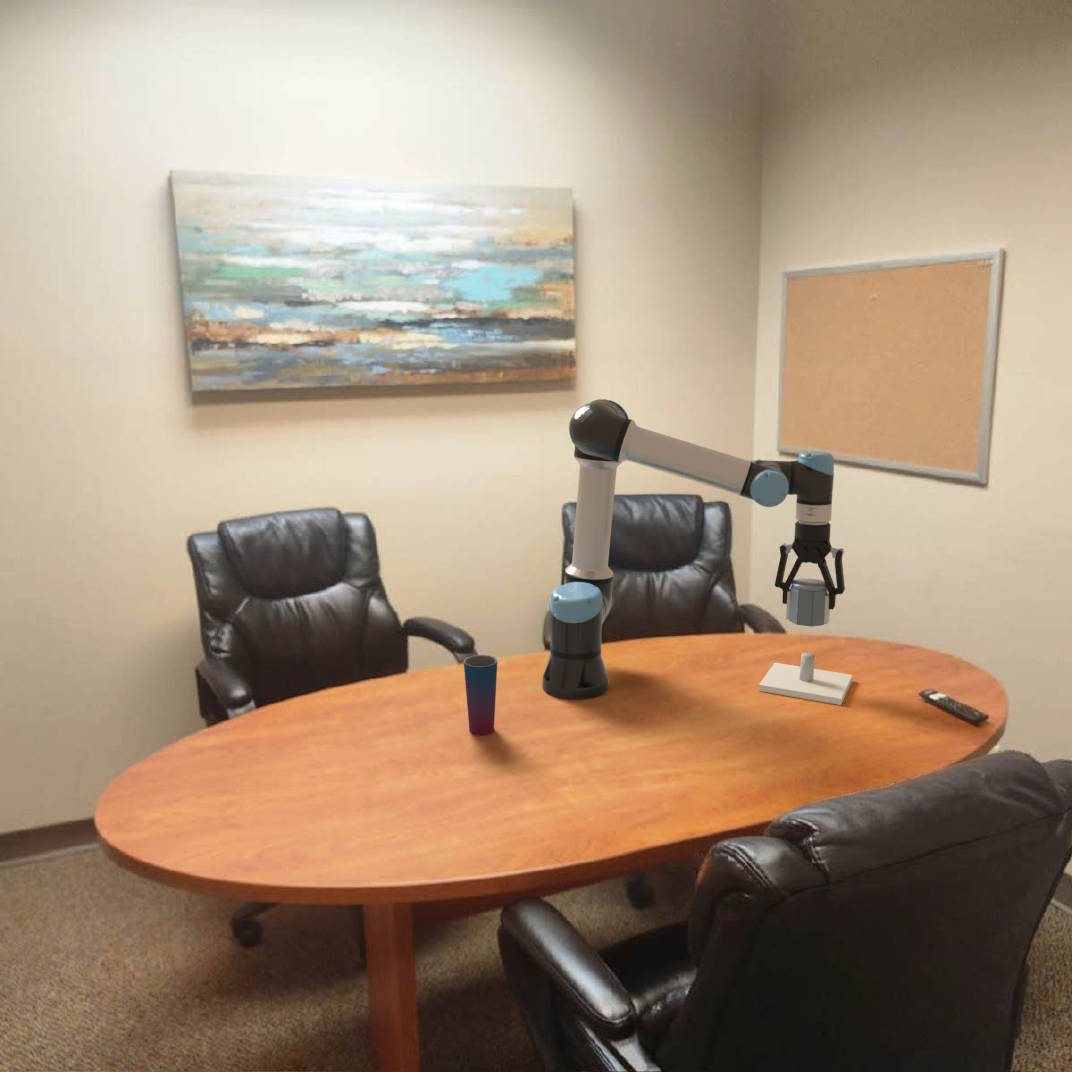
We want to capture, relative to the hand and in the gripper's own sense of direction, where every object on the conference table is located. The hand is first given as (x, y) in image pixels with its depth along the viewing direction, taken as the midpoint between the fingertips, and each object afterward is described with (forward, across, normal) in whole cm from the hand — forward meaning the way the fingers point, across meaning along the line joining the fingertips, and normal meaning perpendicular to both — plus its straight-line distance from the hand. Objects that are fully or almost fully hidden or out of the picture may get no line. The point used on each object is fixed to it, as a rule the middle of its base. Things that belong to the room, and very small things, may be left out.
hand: (807, 619), depth 201 cm
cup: (+15, -54, -55) cm, 79 cm away
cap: (0, 0, 0) cm, 0 cm away
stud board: (+16, 0, 0) cm, 16 cm away
